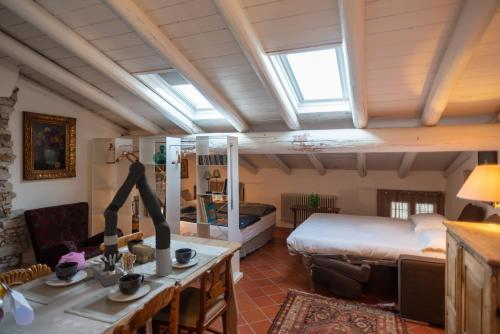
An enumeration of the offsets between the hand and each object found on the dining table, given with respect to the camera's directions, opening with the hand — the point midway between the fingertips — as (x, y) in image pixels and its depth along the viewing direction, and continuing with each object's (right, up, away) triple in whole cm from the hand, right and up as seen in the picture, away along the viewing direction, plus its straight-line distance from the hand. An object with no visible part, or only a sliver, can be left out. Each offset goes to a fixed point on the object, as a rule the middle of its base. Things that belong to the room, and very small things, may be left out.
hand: (111, 270), depth 184 cm
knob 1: (-10, -6, +11) cm, 16 cm away
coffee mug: (-17, -6, +35) cm, 39 cm away
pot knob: (-5, -2, +6) cm, 8 cm away
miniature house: (+7, -6, +38) cm, 39 cm away
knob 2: (0, -6, 0) cm, 6 cm away
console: (-5, -7, +6) cm, 10 cm away
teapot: (-34, -7, +18) cm, 39 cm away
